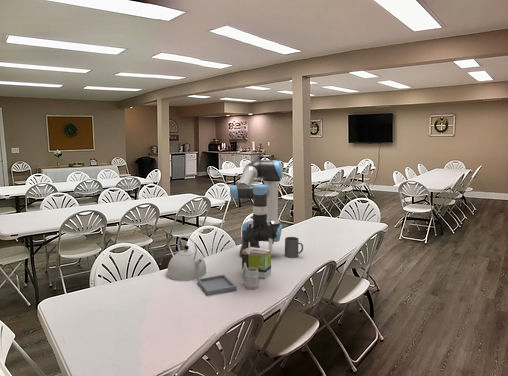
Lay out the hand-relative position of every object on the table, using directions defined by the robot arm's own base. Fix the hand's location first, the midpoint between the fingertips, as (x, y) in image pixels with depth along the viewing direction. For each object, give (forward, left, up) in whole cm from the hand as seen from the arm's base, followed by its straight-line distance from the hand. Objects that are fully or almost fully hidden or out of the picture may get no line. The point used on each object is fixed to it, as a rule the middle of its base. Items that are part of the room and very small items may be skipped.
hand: (259, 251), depth 207 cm
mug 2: (-33, +43, -19) cm, 57 cm away
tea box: (-15, +6, -19) cm, 25 cm away
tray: (-7, -22, -19) cm, 30 cm away
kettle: (-32, -31, -19) cm, 48 cm away
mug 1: (-1, -5, -19) cm, 20 cm away
